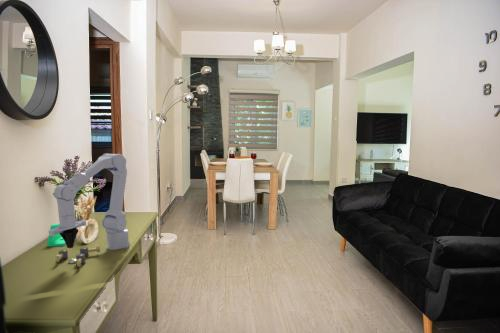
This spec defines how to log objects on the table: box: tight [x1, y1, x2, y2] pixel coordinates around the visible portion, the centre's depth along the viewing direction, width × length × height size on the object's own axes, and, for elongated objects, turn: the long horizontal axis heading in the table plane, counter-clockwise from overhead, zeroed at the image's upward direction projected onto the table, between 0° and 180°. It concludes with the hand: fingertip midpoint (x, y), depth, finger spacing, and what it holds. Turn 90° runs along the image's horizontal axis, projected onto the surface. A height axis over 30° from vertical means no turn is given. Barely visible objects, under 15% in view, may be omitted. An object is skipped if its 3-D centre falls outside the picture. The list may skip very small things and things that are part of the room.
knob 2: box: [75, 253, 86, 268], centre depth 135 cm, size 8×3×4 cm, turn 20°
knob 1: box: [54, 248, 69, 263], centre depth 140 cm, size 8×3×4 cm, turn 6°
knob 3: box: [79, 245, 101, 258], centre depth 145 cm, size 8×3×4 cm, turn 110°
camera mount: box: [46, 223, 67, 247], centre depth 163 cm, size 12×8×10 cm, turn 2°
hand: (70, 247), depth 136 cm, fingers closed
